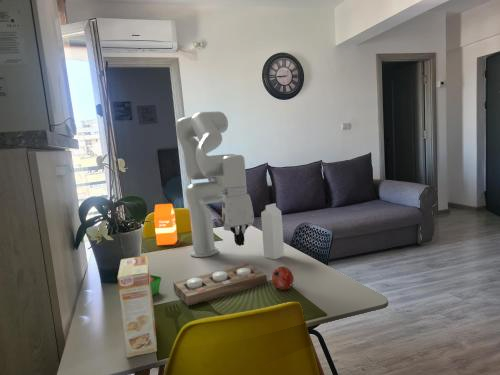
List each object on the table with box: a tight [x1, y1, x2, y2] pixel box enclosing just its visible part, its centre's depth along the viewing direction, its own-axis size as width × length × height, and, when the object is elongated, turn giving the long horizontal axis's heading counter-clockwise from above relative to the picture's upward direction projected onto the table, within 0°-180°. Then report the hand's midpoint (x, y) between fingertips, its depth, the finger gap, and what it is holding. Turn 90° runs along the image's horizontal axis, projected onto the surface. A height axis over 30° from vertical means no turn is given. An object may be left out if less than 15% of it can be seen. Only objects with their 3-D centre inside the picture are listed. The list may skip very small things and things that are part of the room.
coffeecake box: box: [117, 255, 158, 358], centre depth 90 cm, size 15×7×20 cm, turn 17°
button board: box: [173, 263, 268, 307], centre depth 120 cm, size 14×28×3 cm, turn 119°
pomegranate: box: [271, 265, 295, 291], centre depth 116 cm, size 7×7×10 cm
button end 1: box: [187, 277, 202, 290], centre depth 116 cm, size 5×5×2 cm
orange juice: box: [153, 203, 178, 246], centre depth 182 cm, size 8×9×20 cm
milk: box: [260, 202, 285, 261], centre depth 147 cm, size 6×6×22 cm
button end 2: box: [237, 268, 251, 277], centre depth 125 cm, size 5×5×2 cm
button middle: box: [213, 271, 227, 283], centre depth 120 cm, size 5×5×2 cm
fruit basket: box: [150, 274, 162, 296], centre depth 117 cm, size 11×9×11 cm
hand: (239, 244), depth 123 cm, fingers closed
